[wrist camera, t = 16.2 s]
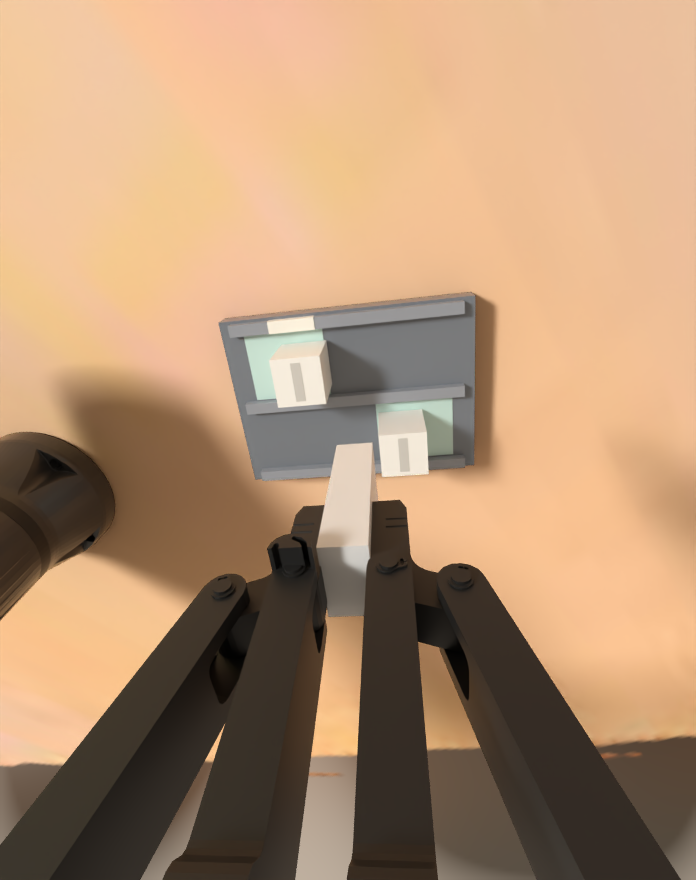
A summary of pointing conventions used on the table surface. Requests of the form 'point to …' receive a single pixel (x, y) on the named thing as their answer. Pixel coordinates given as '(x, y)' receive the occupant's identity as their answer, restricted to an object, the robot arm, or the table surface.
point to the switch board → (358, 381)
